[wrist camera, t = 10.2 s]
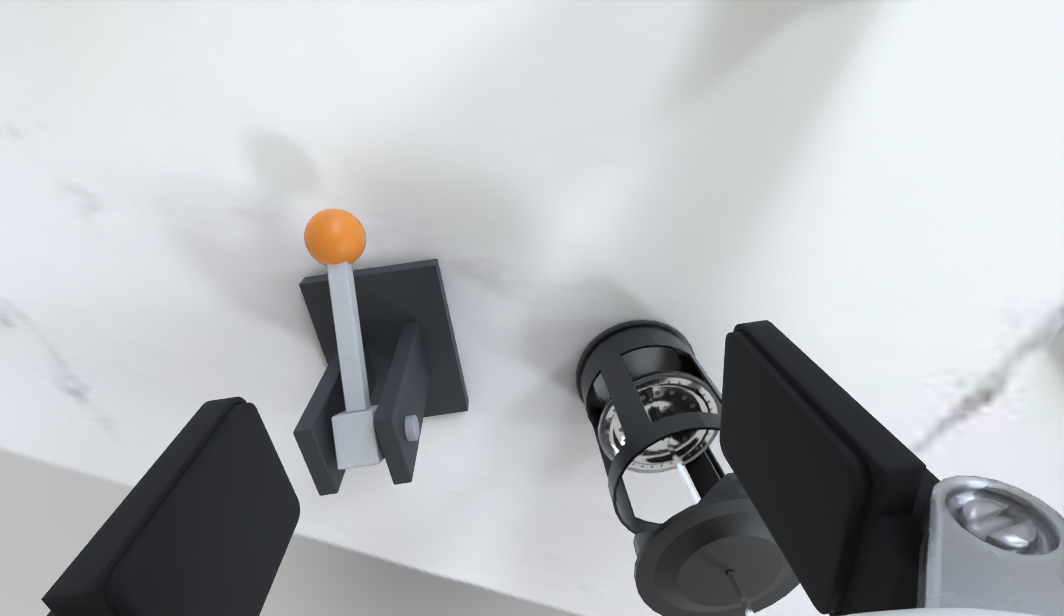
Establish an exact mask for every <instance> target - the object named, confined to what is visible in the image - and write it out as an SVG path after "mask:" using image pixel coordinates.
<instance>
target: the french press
mask: <svg viewBox="0 0 1064 616" xmlns="http://www.w3.org/2000/svg"><path fill="white" fill-rule="evenodd" d="M650 347H663V348H670V349H672V350H673V351H674V352H675V354H676V355H677V358H678V360H679V371H657V372H651V373H647V374H643V375H640V376H638V377H635V378H633V379H631V377H630V374H629V372H628V370H627V368H626V366H625V363H624V361H623V359H622V357H621V356H622V355H624V354H627V353H629V352H631V351H634V350H638V349H642V348H650ZM600 373H602V375H603V378H604V381H605V383H606V386H607V389H608V392H609V394H610V398H609V399H608V401H607V402H606V403H604V402H603V401H602V400H601V399H600V398H599V397H598V396H597V394H596V392H595V390H594V385H593V384H594V382H595V380H596V378H597V377H598V376H599V374H600ZM576 385H577V389H578V393H579V396H580V398H581V400H582V402H583V403H584V405H585V407H586V411H587V414H588V418H589V420H590V421H591V423H592V425H593V428H594V431H595V435H596V438H597V442H598V445H599V449H600V452H601V455H602V459H603V462H604V466H605V469H606V473H607V476H608V487H609V491H610V495H611V498H612V502H613V506H614V509H615V513H616V514H617V516H618V518H619V520H620V521H621V523H622V524H623V525H624V526H625V527H626V528H627V529H628V530H629V531H631V532H632V533H634V534H636V535H635V537H634V542H633V543H634V547H635V552H636V555H637V560H636V562H635V570H634V578H635V582H636V586H637V590H638V593H639V595H640V596H641V598H642V599H643V601H644V603H646V604H647V605H648V606H649V607H650V608H651V609H652V610H653V611H655V612H657V613H659V614H660V615H662V616H755V615H754V613H756V612H758V611H760V610H762V609H764V608H766V607H768V606H770V605H772V604H774V603H775V602H777V601H778V600H780V599H781V598H783V597H784V596H786V595H787V594H788V593H789V592H791V591H792V590H793V589H794V588H795V587H796V586H797V585H798V584H799V583H800V582H799V580H798V578H797V577H796V575H795V573H794V572H793V570H792V568H791V567H790V565H789V563H788V562H787V560H786V558H785V557H784V555H783V553H782V552H781V550H780V548H779V547H778V545H777V543H776V542H775V540H774V538H773V537H772V535H771V533H770V532H769V530H768V528H767V527H766V525H765V523H764V522H763V520H762V518H761V517H760V515H759V513H758V512H757V510H756V508H755V507H754V505H753V503H752V502H751V500H750V498H749V497H748V495H747V493H746V492H745V490H744V488H743V487H742V485H741V483H740V482H739V480H738V478H737V477H736V475H735V473H729V474H727V475H725V474H724V472H723V470H722V468H721V467H720V465H719V463H718V461H717V460H716V458H715V456H714V455H713V453H712V451H711V449H710V448H709V445H710V444H711V443H712V441H713V440H714V438H715V437H716V435H717V433H718V430H720V422H721V405H722V395H721V393H720V392H719V390H718V389H717V388H716V386H715V385H714V383H713V382H712V381H711V379H710V378H709V376H708V375H707V373H706V372H705V371H704V369H703V368H702V366H701V365H700V363H699V362H698V361H697V359H696V358H695V355H694V352H693V350H692V347H691V345H690V344H689V343H688V341H687V340H686V338H685V337H684V336H683V335H682V334H681V333H680V332H678V331H677V330H676V329H674V328H672V327H670V326H669V325H667V324H663V323H660V322H657V321H648V320H638V321H630V322H626V323H622V324H619V325H617V326H614V327H612V328H610V329H608V330H606V331H605V332H603V333H602V334H600V335H599V336H598V337H597V338H596V339H594V340H593V341H592V342H591V343H590V344H589V346H588V347H587V348H586V350H585V351H584V353H583V354H582V356H581V359H580V361H579V363H578V367H577V372H576ZM683 465H685V467H686V469H687V471H688V473H689V475H690V477H691V479H692V481H693V483H694V485H695V487H696V489H697V491H698V493H699V495H700V497H701V500H700V501H699V499H698V497H697V495H696V493H695V491H694V489H693V487H692V484H691V482H690V480H689V478H688V476H687V474H686V472H685V470H684V468H683ZM675 468H677V469H678V471H679V473H680V475H681V478H682V480H683V482H684V484H685V486H686V488H687V490H688V493H689V495H690V497H691V499H692V501H693V503H694V505H693V506H690V507H688V508H686V509H685V510H683V511H681V512H679V513H677V514H676V515H674V516H672V517H671V518H670V519H668V520H667V521H666V522H664V523H663V524H658V523H653V522H648V521H644V520H641V519H639V518H636V517H635V516H634V513H633V510H632V507H631V503H630V500H629V497H628V494H627V491H626V488H625V485H624V482H623V479H622V475H623V473H624V472H625V470H626V469H627V470H630V471H635V472H639V473H657V472H664V471H668V470H672V469H675Z"/></svg>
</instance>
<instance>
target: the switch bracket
mask: <svg viewBox="0 0 1064 616" xmlns="http://www.w3.org/2000/svg"><path fill="white" fill-rule="evenodd" d="M353 277H354V285H355V292H356V300H357V307H358V315H359V322H360V329H361V337H362V344H363V352H364V359H365V367H366V374H367V381H368V389H369V396H370V404H371V406H375V405H378V407H377V410H376V413H375V416H374V420H373V423H374V426H375V429H376V432H377V435H378V438H379V441H380V444H381V447H382V450H383V453H384V456H385V459H386V462H387V465H388V468H389V471H390V474H391V477H392V480H393V483H394V484H402V483H409V482H412V477H413V472H414V466H415V461H416V455H417V449H418V444H419V438H420V433H421V427H422V422H423V417H429V416H435V415H442V414H449V413H456V412H463V411H468V402H469V401H468V396H467V392H466V387H465V383H464V378H463V373H462V369H461V364H460V360H459V355H458V351H457V346H456V341H455V337H454V332H453V328H452V323H451V318H450V314H449V309H448V305H447V300H446V295H445V291H444V286H443V282H442V277H441V273H440V268H439V263H438V259H433V260H426V261H419V262H412V263H405V264H398V265H391V266H384V267H376V268H369V269H362V270H355V271H353ZM299 286H300V288H301V291H302V294H303V297H304V300H305V302H306V305H307V308H308V311H309V313H310V316H311V319H312V322H313V325H314V327H315V330H316V333H317V336H318V339H319V341H320V344H321V347H322V350H323V353H324V355H325V358H326V361H327V364H328V367H327V369H326V371H325V373H324V375H323V377H322V378H321V380H320V382H319V384H318V386H317V388H316V390H315V392H314V394H313V396H312V398H311V399H310V401H309V403H308V405H307V407H306V409H305V411H304V413H303V415H302V417H301V419H300V420H299V422H298V424H297V426H296V428H295V430H294V432H293V434H294V436H295V439H296V441H297V443H298V446H299V448H300V450H301V453H302V455H303V457H304V460H305V462H306V464H307V467H308V469H309V471H310V474H311V476H312V478H313V481H314V483H315V486H316V488H317V490H318V493H319V495H321V496H322V495H328V494H335V493H338V490H339V487H340V484H341V482H342V479H343V476H344V473H345V470H346V469H341V470H339V469H338V465H337V458H336V450H335V443H334V435H333V427H332V420H331V418H332V417H333V416H335V415H337V414H339V413H341V412H343V411H345V410H346V407H345V400H344V392H343V385H342V377H341V370H340V362H339V355H338V347H337V340H336V332H335V325H334V317H333V310H332V302H331V295H330V287H329V280H328V274H327V275H320V276H313V277H306V278H304V279H303V281H302V282H301V283H300V284H299Z"/></svg>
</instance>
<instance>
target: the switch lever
mask: <svg viewBox="0 0 1064 616" xmlns="http://www.w3.org/2000/svg"><path fill="white" fill-rule="evenodd" d="M304 241H305V245H306V248H307V250H308V252H309V253H310V254H311V256H312V257H313V258H314V259H315V260H317V261H318V262H320V263H322V264H324V265H326V266H327V272H328V280H329V287H330V295H331V302H332V310H333V317H334V325H335V332H336V340H337V347H338V355H339V362H340V370H341V377H342V385H343V392H344V400H345V407H346V410H345V411H343V412H341V413H339V414H337V415H335V416H333V417H332V418H331V420H332V427H333V435H334V443H335V450H336V458H337V465H338V469H339V470H341V469H348V468H355V467H361V466H368V465H375V464H379V463H380V462H381V461H382V460H383V459H384V458H385V456H384V453H383V450H382V447H381V444H380V441H379V438H378V435H377V432H376V429H375V426H374V423H373V420H374V416H375V413H376V410H377V407H378V405H375V406H371V404H370V396H369V389H368V381H367V374H366V367H365V359H364V352H363V344H362V337H361V329H360V322H359V315H358V307H357V300H356V292H355V285H354V277H353V270H352V263H353V262H355V261H356V260H357V259H358V258H359V257H360V256H361V254H362V253H363V251H364V248H365V245H366V234H365V230H364V228H363V226H362V224H361V223H360V221H359V220H358V219H357V218H356V217H355V216H354V215H352V214H350V213H348V212H346V211H344V210H339V209H328V210H324V211H321V212H319V213H317V214H316V215H314V216H313V217H312V218H311V219H310V221H309V222H308V224H307V226H306V228H305V233H304Z"/></svg>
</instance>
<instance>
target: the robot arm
mask: <svg viewBox="0 0 1064 616" xmlns="http://www.w3.org/2000/svg"><path fill="white" fill-rule="evenodd" d="M720 445H721V449H722V452H723V455H724V457H725V458H726V460H727V462H728V463H729V465H730V467H731V468H732V470H733V472H734V473H735V475H736V477H737V478H738V480H739V482H740V483H741V485H742V487H743V488H744V490H745V492H746V493H747V495H748V497H749V498H750V500H751V502H752V503H753V505H754V507H755V508H756V510H757V512H758V513H759V515H760V517H761V518H762V520H763V522H764V523H765V525H766V527H767V528H768V530H769V532H770V533H771V535H772V537H773V538H774V540H775V542H776V543H777V545H778V547H779V548H780V550H781V552H782V553H783V555H784V557H785V558H786V560H787V562H788V563H789V565H790V567H791V568H792V570H793V572H794V573H795V575H796V577H797V578H798V580H799V582H800V583H801V585H802V587H803V588H804V590H805V592H806V593H807V595H808V597H809V598H810V600H811V602H812V603H813V605H814V606H815V608H816V609H817V610H818V611H819V612H820V613H822V614H829V615H830V616H1064V518H1063V517H1062V516H1061V515H1060V514H1059V513H1058V512H1057V511H1056V510H1054V509H1053V508H1051V507H1050V506H1049V505H1047V504H1046V503H1044V502H1043V501H1042V500H1040V499H1039V498H1037V497H1035V496H1033V495H1031V494H1029V493H1027V492H1025V491H1023V490H1021V489H1019V488H1017V487H1014V486H1011V485H1009V484H1006V483H1003V482H1000V481H997V480H993V479H988V478H983V477H978V476H954V477H950V478H946V479H943V480H942V481H940V480H939V479H937V478H936V477H935V476H934V475H933V474H932V473H931V472H930V471H929V470H928V469H927V468H926V465H925V464H924V463H923V462H922V461H921V460H920V459H919V458H918V457H917V456H915V455H914V454H913V453H912V452H911V451H910V450H909V449H908V448H907V447H906V446H905V445H903V444H902V443H901V442H900V441H899V440H898V439H897V438H896V437H895V436H894V435H893V434H892V433H890V432H889V431H888V430H887V429H886V428H885V427H884V426H883V425H882V424H881V423H880V422H878V421H877V420H876V419H875V418H874V417H873V416H872V415H871V414H870V413H869V412H868V411H867V410H865V409H864V408H863V407H862V406H861V405H860V404H859V403H858V402H857V401H856V400H855V399H854V398H852V397H851V396H850V395H849V394H848V393H847V392H846V391H845V390H844V389H843V388H842V387H840V386H839V385H838V384H837V383H836V382H835V381H834V380H833V379H832V378H831V377H830V376H829V375H827V374H826V373H825V372H824V371H823V370H822V369H821V368H820V367H819V366H818V365H817V364H815V363H814V362H813V361H812V360H811V359H810V358H809V357H808V356H807V355H806V354H805V353H804V352H802V351H801V350H800V349H799V348H798V347H797V346H796V345H795V344H794V343H793V342H792V341H790V340H789V339H788V338H787V337H786V336H785V335H784V334H783V333H782V332H781V331H780V330H779V329H777V328H776V327H775V326H774V325H773V324H772V323H771V322H769V321H768V320H763V321H756V322H750V323H743V324H738V325H736V326H735V328H734V332H731V333H728V334H727V336H726V340H725V356H724V373H723V389H722V406H721V422H720ZM299 515H300V505H299V501H298V498H297V496H296V494H295V492H294V489H293V487H292V485H291V483H290V481H289V478H288V476H287V474H286V472H285V470H284V467H283V465H282V463H281V461H280V459H279V456H278V454H277V452H276V450H275V448H274V445H273V443H272V441H271V439H270V437H269V434H268V432H267V430H266V428H265V426H264V424H263V421H262V419H261V417H260V415H259V413H258V410H257V408H256V407H255V405H254V404H252V403H247V402H246V401H245V400H244V399H243V398H241V397H233V398H226V399H219V400H212V401H208V402H206V403H205V404H203V405H202V406H201V408H200V409H199V410H198V411H197V412H196V414H195V415H194V416H193V417H192V418H191V420H190V421H189V422H188V423H187V424H186V426H185V427H184V428H183V429H182V430H181V432H180V433H179V434H178V435H177V437H176V438H175V439H174V440H173V441H172V443H171V444H170V445H169V446H168V447H167V449H166V450H165V451H164V452H163V453H162V455H161V456H160V457H159V458H158V459H157V461H156V462H155V463H154V464H153V465H152V467H151V468H150V469H149V470H148V471H147V473H146V474H145V475H144V476H143V477H142V479H141V480H140V481H139V482H138V484H137V485H136V486H135V487H134V488H133V490H132V491H131V492H130V493H129V494H128V496H127V497H126V498H125V499H124V500H123V502H122V503H121V504H120V505H119V506H118V508H117V509H116V510H115V511H114V512H113V514H112V515H111V516H110V517H109V518H108V520H107V521H106V522H105V523H104V524H103V526H102V527H101V528H100V529H99V531H98V532H97V533H96V534H95V535H94V537H93V538H92V539H91V540H90V542H89V543H88V544H87V545H86V546H85V547H84V549H83V550H82V551H81V552H80V554H79V555H78V556H77V557H76V558H75V560H74V561H73V562H72V563H71V565H69V567H68V568H67V569H66V570H65V572H64V573H63V574H62V575H61V576H60V578H59V579H58V580H57V581H56V582H55V584H54V585H53V586H52V587H51V589H50V590H49V591H48V592H47V593H46V595H45V596H44V597H43V598H42V600H43V602H44V603H45V604H46V605H47V606H48V608H49V609H50V610H51V611H50V612H49V614H48V615H47V616H259V614H260V612H261V609H262V607H263V605H264V602H265V600H266V597H267V595H268V593H269V590H270V588H271V585H272V583H273V581H274V578H275V576H276V573H277V571H278V568H279V566H280V563H281V561H282V559H283V556H284V554H285V551H286V549H287V546H288V544H289V542H290V539H291V537H292V534H293V532H294V530H295V527H296V525H297V522H298V519H299Z"/></svg>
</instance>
